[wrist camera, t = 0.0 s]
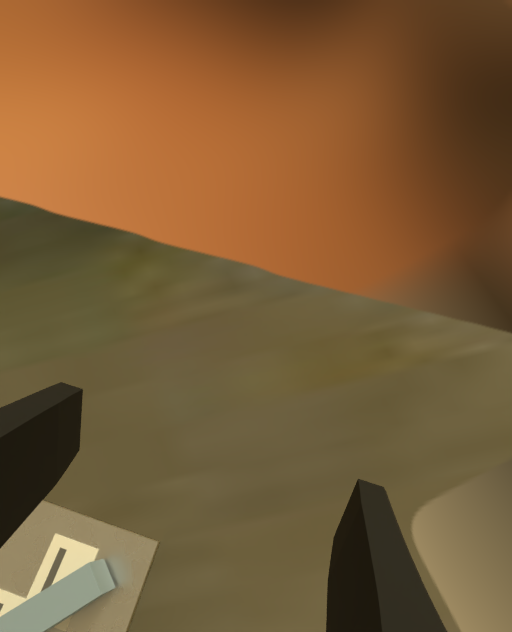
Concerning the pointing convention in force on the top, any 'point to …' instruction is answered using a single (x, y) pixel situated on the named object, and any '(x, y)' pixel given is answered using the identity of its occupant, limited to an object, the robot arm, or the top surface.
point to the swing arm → (60, 600)
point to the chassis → (114, 547)
